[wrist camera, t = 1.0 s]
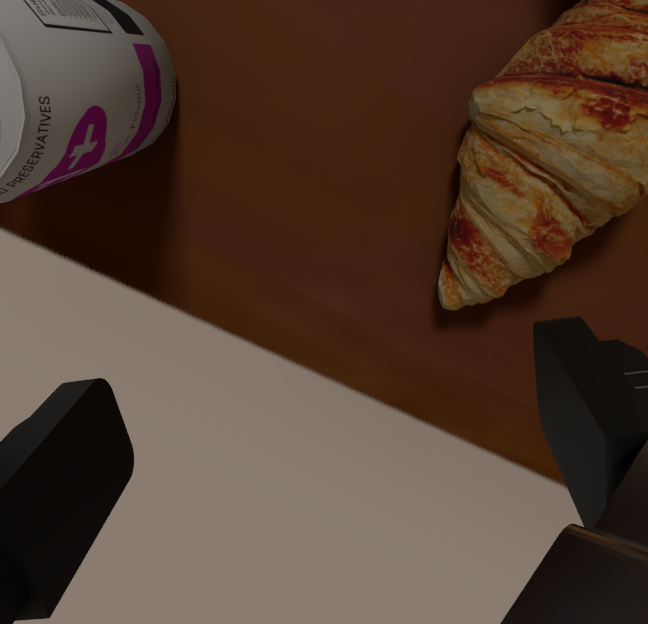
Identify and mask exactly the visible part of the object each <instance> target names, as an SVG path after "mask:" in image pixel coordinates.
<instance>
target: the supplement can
mask: <svg viewBox="0 0 648 624" xmlns="http://www.w3.org/2000/svg"><path fill="white" fill-rule="evenodd" d="M175 100H176V82H175V68H174V66H173V63H172V60H171V58H170V55H169V52H168V50H167V47H166V44H165V42H164V40H163V39H162V38H161V37H160V35H159V34H158V33H157V31H156V30H155V29H154V28H153V26H152V25H151V24H150V22H149V21H148V20H147V19H146V18H145V17H144V16H142V15H141V14H139V13H138V12H136V11H135V10H133V9H132V8H130V7H129V6H127V5H126V4H124V3H123V2H120V1H116V0H0V203H3V202H8V201H11V200H14V199H16V198H19V197H22V196H24V195H27V194H29V193H32V192H35V191H37V190H40V189H43V188H45V187H48V186H51V185H53V184H56V183H59V182H61V181H64V180H67V179H69V178H72V177H75V176H77V175H80V174H83V173H85V172H88V171H91V170H93V169H96V168H99V167H101V166H104V165H107V164H109V163H112V162H115V161H117V160H120V159H123V158H125V157H128V156H131V155H133V154H135V153H137V152H138V151H140V150H142V149H144V148H145V147H147V146H149V145H151V144H152V143H154V142H155V140H156V139H157V138H158V137H159V135H160V134H161V133H162V131H163V130H164V129H165V127H166V126H167V125H168V124H169V121H170V117H171V114H172V111H173V107H174V104H175Z"/></svg>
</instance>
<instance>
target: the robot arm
mask: <svg viewBox="0 0 648 624" xmlns="http://www.w3.org/2000/svg"><path fill="white" fill-rule="evenodd" d="M533 341H534V357H535V373H536V388H537V403H538V410H539V416H540V421H541V425H542V429H543V432H544V435H545V437H546V440H547V442H548V444H549V447H550V449H551V451H552V453H553V456H554V458H555V460H556V463H557V465H558V467H559V470H560V472H561V474H562V476H563V479H564V481H565V483H566V486H567V488H568V490H569V493H570V495H571V497H572V499H573V502H574V504H575V506H576V509H577V511H578V513H579V515H580V518H581V520H582V522H583V525H584V527H582V526H579V525H576V524H570V525H568V526H567V527H565V528H564V529H563V530H562V532H561V533H560V534H559V536H558V537H557V539H556V540H555V542H554V543H553V545H552V546H551V548H550V549H549V551H548V552H547V554H546V555H545V557H544V558H543V560H542V561H541V563H540V565H539V566H538V568H537V569H536V570H535V572H534V574H533V575H532V577H531V578H530V580H529V581H528V583H527V584H526V586H525V587H524V589H523V590H522V592H521V593H520V595H519V596H518V598H517V599H516V601H515V602H514V604H513V606H512V607H511V608H510V610H509V612H508V613H507V615H506V616H505V618H504V619H503V621H502V622H501V624H648V358H647V356H646V355H645V354H644V353H643V352H642V351H640V350H638V349H636V348H634V347H632V346H630V345H628V344H626V343H624V342H622V341H620V340H617V339H615V340H607V341H599V340H598V339H597V337H596V336H595V335H594V333H593V332H592V331H591V329H590V328H589V327H588V326H587V324H586V323H585V322H584V320H583V319H582V318H581V317H580V316H575V317H567V318H560V319H552V320H545V321H537V322H535V323H534V327H533ZM133 467H134V452H133V447H132V444H131V441H130V438H129V435H128V433H127V430H126V427H125V424H124V421H123V419H122V416H121V413H120V410H119V407H118V404H117V402H116V399H115V396H114V393H113V391H112V388H111V386H110V385H109V383H108V382H107V381H106V380H105V379H102V378H97V379H90V380H82V381H75V382H67V383H63V384H61V385H60V386H59V387H58V388H57V389H56V390H55V391H54V392H53V393H52V394H51V396H49V397H48V398H47V399H46V400H45V402H44V403H43V404H42V405H41V406H40V407H39V408H38V409H37V410H36V411H35V412H34V413H33V414H32V415H31V417H29V418H28V419H26V420H25V421H23V422H22V423H20V424H19V425H17V426H16V427H15V428H14V429H12V430H11V432H10V433H9V434H8V435H7V436H6V437H5V438H4V439H3V440H2V441H1V442H0V624H13V623H14V621H16V620H31V619H45V618H50V616H51V615H52V613H53V611H54V609H55V608H56V606H57V604H58V603H59V601H60V599H61V597H62V596H63V594H64V592H65V590H66V589H67V587H68V585H69V583H70V582H71V580H72V578H73V577H74V575H75V573H76V571H77V570H78V568H79V566H80V565H81V563H82V561H83V559H84V558H85V556H86V554H87V553H88V551H89V549H90V547H91V546H92V544H93V542H94V540H95V539H96V537H97V535H98V533H99V532H100V530H101V528H102V527H103V525H104V523H105V521H106V520H107V518H108V516H109V515H110V513H111V511H112V509H113V508H114V506H115V504H116V502H117V501H118V499H119V497H120V496H121V494H122V492H123V490H124V489H125V487H126V485H127V483H128V482H129V480H130V478H131V476H132V473H133Z"/></svg>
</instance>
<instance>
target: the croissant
mask: <svg viewBox="0 0 648 624" xmlns="http://www.w3.org/2000/svg"><path fill="white" fill-rule="evenodd" d="M468 106H469V116H470V121H471V125H470V126H469V127H468V129H467V131H466V135H465V137H464V139H463V141H462V144H461V147H460V149H459V151H458V154H457V156H456V157H457V160H458V162H459V163H460V166H461V171H460V172H461V176H460V190H459V196H458V198H457V200H456V204H455V207H454V209H453V211H452V212H451V216H450V219H449V223H448V245H447V256H446V257H445V259H444V261H443V264H442V269H441V272H440V278H439V283H438V284H439V286H438V296H439V301H440V303H441V305H442V308H445V309H448V310H459V309H460V308H462V307H463V306H465V305H470V306H472V305H475V304H477V303H478V302H479V303H486V302H489V301H491V300H492V299H493V298H499V297H502V296H503V295H504V293H505V292H506V290H507V289H508V287H509V286H511V285H516V284H517V283H518V282H520V281H521V280H523V279H529V278H534V277H536V276H538V275H540V276H541V275H542V274H543V273H544V272H545V273H549V272H551V271H552V270H553V269H554V268H555V267H556V266H557V265H563V264H564V262H565V261H566V260H567V259H569V258H570V255H571V249H572V247H573V245H574V244H575V243H576V242H577V241H579V240H581V239H582V238H585V237H588V236H590V235H591V234H592V233H594V231H595V229H596V228H598V227H601V226H603V225H604V224H605V223H606V222H608V221H609V220H610V219H611V217H618V216H620V215H622V214H624V213H627V212H628V211H629V210H630V209H632V208H633V207H634V206H635V205H636V204H638V203H639V202H640V201H641V200H642V199H643V198H644V197H645V195H648V0H581V1H580V2H579V3H578V4H576V5H575V6H574V7H572V8H571V9H569V10H567V11H565V12H563V13H562V15H561V16H560V17H559V18H558V19H557V20H556V22H555V23H554V24H553V26H552V27H550V28H547V29H545V30H542V31H541V32H539V33H537V34H535V35H534V36H533V37H531V38H530V39H529V40H528V41H527V42H526V44H525V45H524V46H523V47H522V48H521V49H520V50H519V51H518V52H517V53H516V54H515V56H514V57H513V58H512V59H511V61H510V62H509V63H508V64H507V65H506V67H505V68H504V69H503V70H502V71H501V72H500V73H499V74H498V75H497V76H496V77H495V78H493V79H489V80H488V81H487V82H483V83H481V84H480V85H479V86H477V87H476V88H475V89H474V91H473V94H472V97H471V99H470V101H469V102H468Z"/></svg>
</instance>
